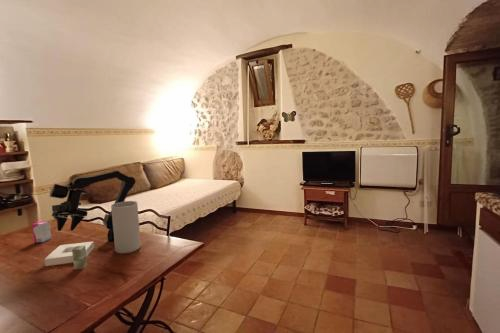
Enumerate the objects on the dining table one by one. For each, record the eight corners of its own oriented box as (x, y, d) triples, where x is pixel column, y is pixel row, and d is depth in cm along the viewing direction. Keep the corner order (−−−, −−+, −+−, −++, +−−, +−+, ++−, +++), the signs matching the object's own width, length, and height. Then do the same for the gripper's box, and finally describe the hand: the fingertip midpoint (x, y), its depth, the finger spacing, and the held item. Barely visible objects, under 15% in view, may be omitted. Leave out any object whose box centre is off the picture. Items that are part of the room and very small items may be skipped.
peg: (87, 264, 121) (85, 245, 120) (84, 268, 117) (82, 248, 116) (77, 265, 120) (75, 246, 119) (74, 269, 116) (72, 250, 115)
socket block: (94, 247, 140) (93, 241, 139) (83, 261, 124) (82, 254, 124) (60, 251, 136) (59, 245, 135) (45, 266, 120) (44, 259, 120)
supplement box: (51, 238, 153) (49, 220, 152) (43, 243, 147) (40, 224, 146) (43, 238, 154) (40, 220, 152) (34, 242, 148) (31, 224, 146)
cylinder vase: (130, 255, 130) (126, 207, 126) (109, 253, 132) (105, 207, 129) (145, 244, 142) (142, 201, 139) (126, 243, 144) (122, 200, 141)
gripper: (45, 198, 129) (35, 229, 123) (70, 195, 123) (61, 228, 117) (67, 202, 139) (59, 231, 133) (91, 200, 132) (84, 230, 127)
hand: (65, 230), depth 127 cm, fingers open, 9 cm apart
